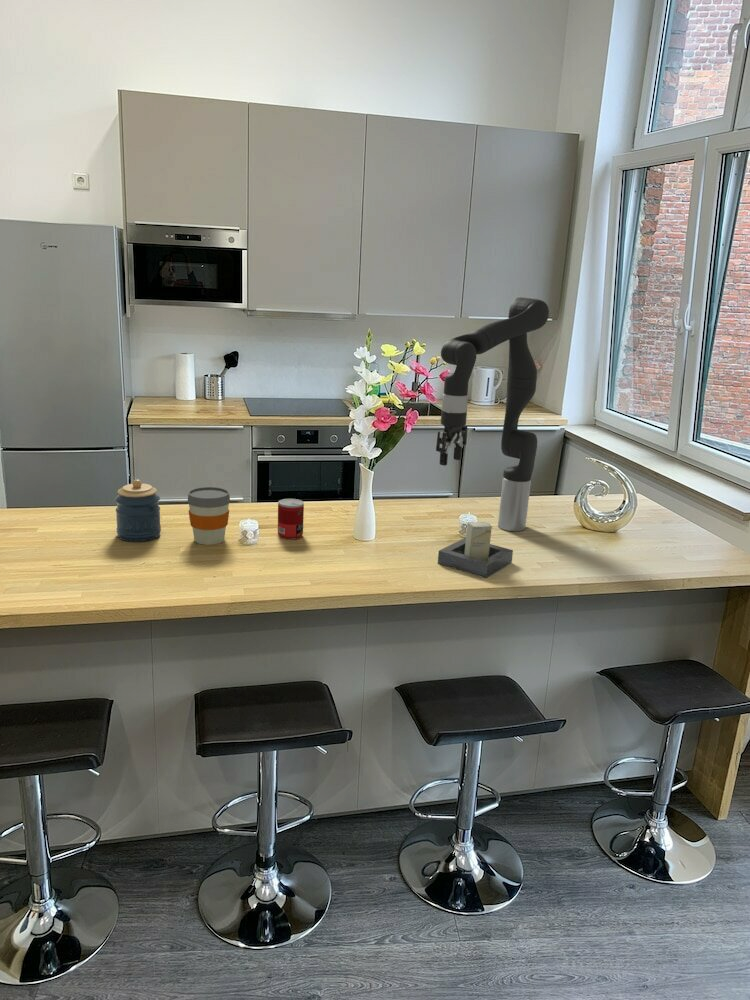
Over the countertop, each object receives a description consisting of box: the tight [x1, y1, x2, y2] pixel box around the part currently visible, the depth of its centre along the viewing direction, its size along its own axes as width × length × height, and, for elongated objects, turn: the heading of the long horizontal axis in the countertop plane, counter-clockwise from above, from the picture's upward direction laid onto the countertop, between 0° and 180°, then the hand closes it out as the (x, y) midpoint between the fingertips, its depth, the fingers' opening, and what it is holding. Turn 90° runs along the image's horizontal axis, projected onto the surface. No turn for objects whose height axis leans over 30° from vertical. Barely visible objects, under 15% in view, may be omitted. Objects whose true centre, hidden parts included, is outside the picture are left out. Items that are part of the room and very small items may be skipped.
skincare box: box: [464, 521, 493, 560], centre depth 228 cm, size 6×4×12 cm
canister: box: [114, 479, 162, 543], centre depth 235 cm, size 13×13×18 cm
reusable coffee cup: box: [187, 486, 231, 546], centre depth 235 cm, size 12×13×15 cm
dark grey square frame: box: [437, 537, 514, 579], centre depth 229 cm, size 16×16×4 cm
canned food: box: [277, 498, 305, 540], centre depth 243 cm, size 8×8×11 cm
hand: (450, 462), depth 235 cm, fingers open, 8 cm apart
